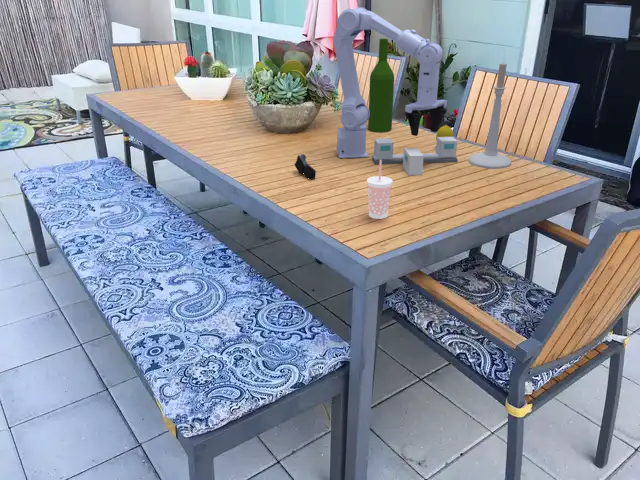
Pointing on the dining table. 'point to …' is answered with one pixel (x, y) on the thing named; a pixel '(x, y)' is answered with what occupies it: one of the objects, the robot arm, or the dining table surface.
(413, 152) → the block
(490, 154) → the candlestick
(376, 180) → the beverage cup
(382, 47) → the wine bottle
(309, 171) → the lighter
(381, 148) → the board
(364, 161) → the dining table surface
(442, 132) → the lemon
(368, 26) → the robot arm
